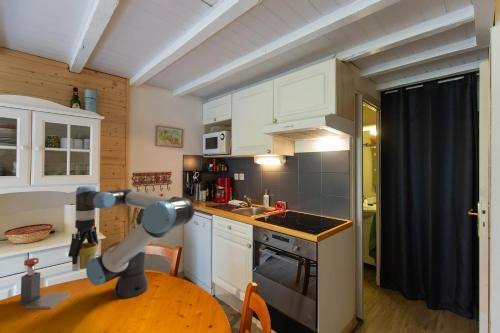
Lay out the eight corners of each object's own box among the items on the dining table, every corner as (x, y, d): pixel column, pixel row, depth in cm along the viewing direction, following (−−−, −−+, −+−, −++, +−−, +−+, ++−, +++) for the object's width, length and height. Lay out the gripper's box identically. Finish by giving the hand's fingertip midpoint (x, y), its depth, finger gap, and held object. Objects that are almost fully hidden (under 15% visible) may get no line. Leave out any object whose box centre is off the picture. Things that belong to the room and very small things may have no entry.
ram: (40, 285, 110) (41, 258, 110) (31, 290, 105) (32, 262, 105) (30, 285, 110) (30, 257, 110) (20, 290, 105) (21, 261, 105)
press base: (70, 295, 113) (71, 269, 113) (51, 308, 102) (52, 280, 102) (35, 294, 113) (36, 269, 113) (12, 308, 102) (13, 280, 102)
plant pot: (83, 272, 107) (83, 250, 107) (64, 269, 109) (64, 248, 109) (102, 263, 117) (102, 243, 117) (84, 261, 119) (84, 241, 119)
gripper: (92, 214, 124) (91, 256, 124) (58, 224, 102) (57, 276, 101) (107, 214, 124) (106, 256, 124) (76, 224, 102) (74, 276, 101)
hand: (84, 265), depth 113 cm, fingers closed on plant pot, 10 cm apart
